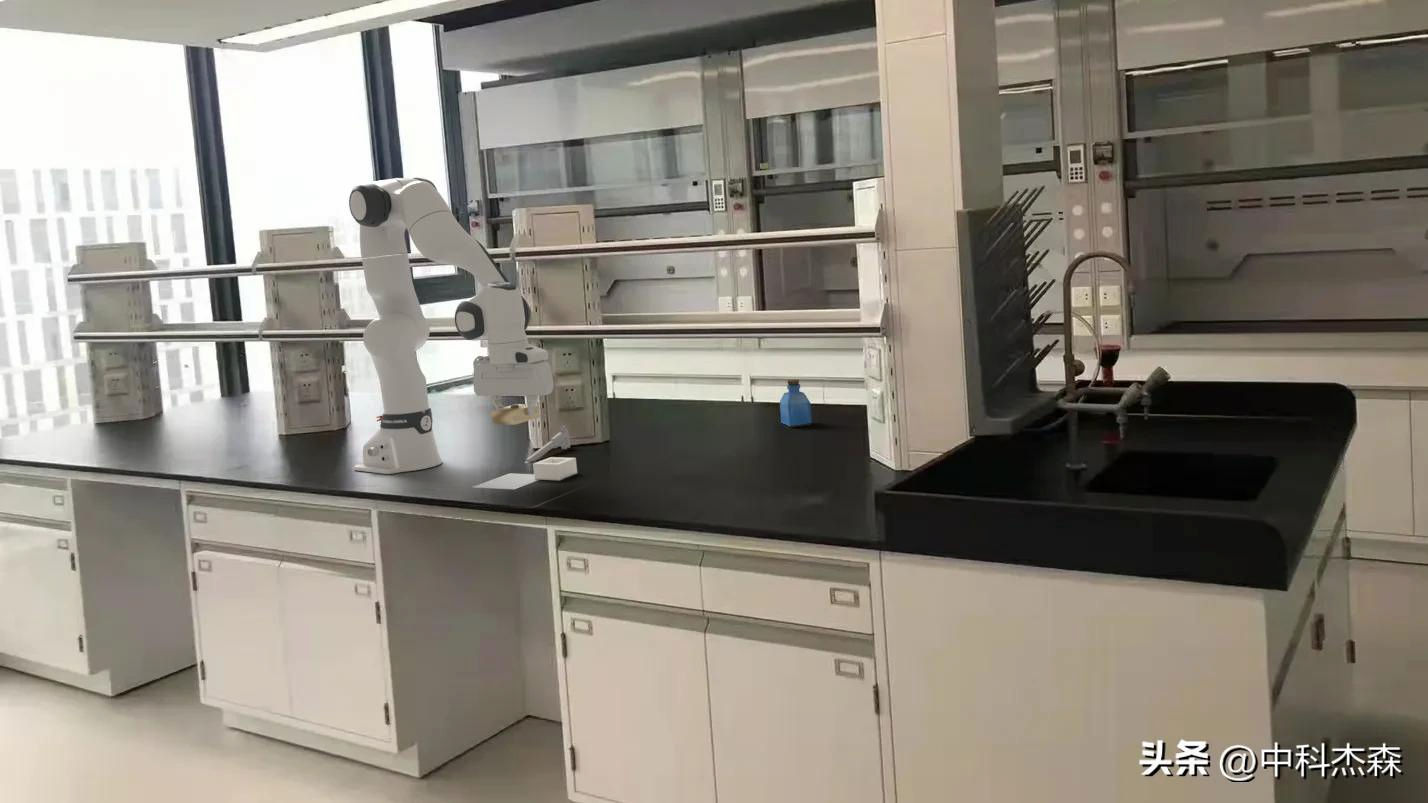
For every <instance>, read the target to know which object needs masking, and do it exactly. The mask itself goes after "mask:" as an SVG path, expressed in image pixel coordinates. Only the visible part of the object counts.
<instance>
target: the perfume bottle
mask: <svg viewBox="0 0 1428 803" xmlns="http://www.w3.org/2000/svg"><path fill="white" fill-rule="evenodd" d="M786 389H787V390H788V392H784V393H783V394H782V397H781V398H780V399H779V400H780V401H779V410H780V411H779V412H780V424H781V423H783V424H786V425H788V426H793V425H801V424H807V423H812V411H811V402H810V400H809V398H808V396H806V393H805V392H802V391H800V389H801V384H800V379H788V380H787V385H786Z"/></svg>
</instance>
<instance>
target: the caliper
mask: <svg viewBox="0 0 1428 803" xmlns="http://www.w3.org/2000/svg"><path fill="white" fill-rule="evenodd" d="M558 447H560V448H561V449H562V450H567V449H569V448H571V441H570V435H569V431H568V428H566V425H561V427H559V432H558V433H557V434H555V435H554V436H553V437H551V438H550V441H548V442H547V443H545V444H544V445H543V446H541V447H540V448H538V450H536V451H535V452H533V454H531V455H530V456H528V457H527V458H526V459H525V462H524V464H529V463H531V462H536V461H537V460H538V459H540V458H541V457H542V456H544V455H545V454H547V453H548V452H549V451H550V450H552V449H557V448H558Z"/></svg>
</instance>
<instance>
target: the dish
mask: <svg viewBox="0 0 1428 803" xmlns="http://www.w3.org/2000/svg"><path fill="white" fill-rule="evenodd" d="M577 466H578V465H577V458H576V457H562V456H561V457H559V456H558V457H556V456H551V457H547V458H544V459H542V460H539V461H537V462H536V461H535V462H534V463H532V468H533V474H534V479H540V480H539V481H545V480H546V481H562V480H564V479H568V478H569V477H572V476H574V475H577V474H578V468H577Z"/></svg>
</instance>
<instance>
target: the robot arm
mask: <svg viewBox="0 0 1428 803" xmlns="http://www.w3.org/2000/svg"><path fill="white" fill-rule="evenodd" d="M348 206H349V211H350V214H351V216H352V218H353V219H354V220H355V222H356V223H357V224H358V225H359V248H360V256H361V257H360V258H361V262H362V268H363V269H362V270H363V274H364V280H365V285H366V286H365V288H366V290H367V293H368V294H369V295H370V296H371V299H372V301H373V303H374V305H375V308H376V310H377V313H378V316H376V317H374V319H372V320H371V321H370V322H369V324H368V325H367V326H366V327H365V329H364V331H363V335H362V336H363V337H362V339H363V344H364V347H365V349H366V350H367V351H368V353H369V354H370V356H371V359H372V362H373V364H374V368H375V371H376V374H377V376H378V377H377V378H378V380H379V384H380V393H381V399H382V400H381V401H382V407H383V413H382V415H378V416H376V417H375V419H376V420H375V421H376V422H380V426H379V427H380V428H379V429H378V430H377V431H376V432H375V433H374V434H373V435H372V436H371V438H369V439H368V440H367V441H366V443H365V444H363V449H362V462H360V463H358V464H356V465H354V466H353V468H354V471H359V472H366V473H374V474H384V475H391V474H398V473H405V472H412V471H420V470H425V469H429V468H433V467H436V466H439V465H441V464H442V463H443V460H442V458H441V455H440V452H439V449H438V446H437V442H436V438H435V434H434V429H433V422H434V421H433V412H432V408H430V404H429V397H428V396H429V394H428V387H427V386H428V385H427V378H426V376H425V374H424V373H423V371H422V368H421V367H420V364H419V361H418V357H417V354H416V352H417V351H418V350H420V349H421V348H422V347H423V346H424V345H425V344H426V342H427V341H428V339H429V338H430V337H429V336H430V331H431V329H430V324H429V322H428V320H427V318H426V317H425V315H424V314H423V311H422V307H421V304H420V302H419V299H418V296H417V293H416V290H415V287H414V284H413V283H414V282H413V279H412V278H413V277H412V271H411V265H410V259H409V254H408V248H407V243H406V238H405V232H406V230H407V233H408V234H409V236H410V239H411V240H412V243H413V245H414V246H415V248H416V249H417V250H418V252H420V254H421V255H422V256H423V257H425V258H426V259H427V260H429V261H432V262H434V263H435V262H436V263H438V264H446V265H449V266H452V267H456V268H460V269H463V270H465V271H466V272H469V273H470V274H471V275H472V276H474V277H475V279H476V281H477V282H478V283H479V285H480V286H481V287H482V289H481V291H479V292H478V293H477V294H476V295H474V296H472V297H469V298H468V299H466V300H463V301H461V302H460V303H459V304H458V305H457V307H456V309H455V311H454V312H455V313H454V323H455V324H454V325H455V329H456V330H457V332H458V333H459V335H460V336H461V337H462V338H464V339H465V340H466V341H476V342H477V341H481V340H482V341H483V340H487V348H488V350H487V351H488V354H486V355H483V354H481V355H480V354H479V355H477V357H475V358H474V360H473V362H472V364H473V376H472V380H473V392H474V393H475V395H476V396H477V397H490V401H491V403H492V404H493V406H494V408H495V410H497V409H501V408H504V407H505V406H504V405H503V403H502V401H501V400H502V397H504V396H505V397H514V396H516V397H517V396H519V397H521V396H524V397H525V396H526V401H528V403H527V404H528V407H526V408H524V409H525V415H534V414H535V409H534V406H535V404H537V402H538V397H539V396H547V395H549V394H550V395H551V393H552V392H553V390H554V379H553V372H552V368H551V365H550V364H549V362H548V361H547V360H548V359H549V352H548V351H547V350H546V349H544V348H541V347H538V346H536V345H532V344H531V343H529V342H528V336H527V334H526V330H528V329H527V328H528V327H529V325H530V322H531V317H532V312H531V309H530V305H529V304H528V302H527V300H526V299H525V297H523V295H522V294H521V291H520V288H519V287H518V285H517V284H515V283H512V282H510V281H509V280H508V278H507V277H506V275H505V274H504V272H502V270H501V268H500V267H499V266H498V264H497V263H496V262H495V260H494V258H493V257H492V256H491V254H490V253H489V251H487V249H486V248H485V247H484V245H483V244H482V243H481V242H480V241H478V240H477V239H475V238H474V237H472V236H471V235H470V234H469V233H468V232H467V231H466V230H465V229H464V228H463V227H462V226H461V224H460V223H459V222H458V220H457V219H456V217H455V216H454V214H453V212H452V210H451V209H450V207H449V205H448V204H447V202H446V200H445V199H444V198H443V196H442V195H441V194H440V192H439V191H438V188H437V187H436V185H435V184H434V182H432V181H431V180H429V179H427V178H424V177H423V178H422V177H413V178H412V177H411V178H409V177H394V178H393V177H392V178H389V179H383V180H376V181H365V182H363V183H358V184H357V185H355V186H354V187H353V188H352V190H351V192H350V195H349V198H348Z"/></svg>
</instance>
